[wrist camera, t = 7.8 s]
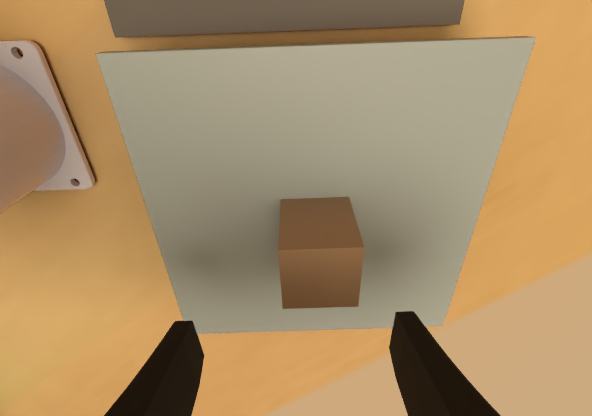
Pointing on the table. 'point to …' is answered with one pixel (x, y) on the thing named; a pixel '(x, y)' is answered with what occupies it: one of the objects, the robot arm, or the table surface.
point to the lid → (315, 173)
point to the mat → (273, 15)
